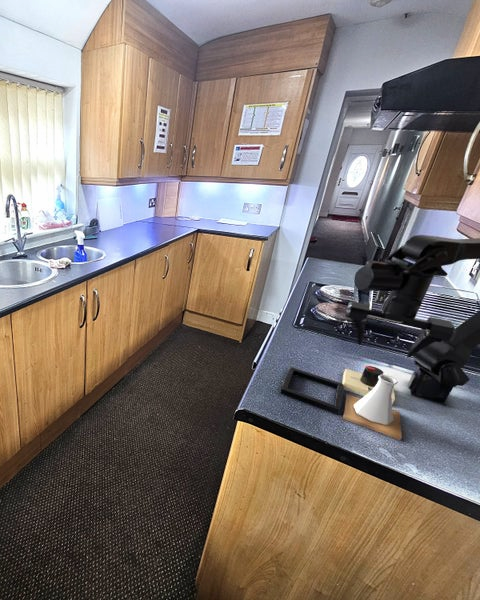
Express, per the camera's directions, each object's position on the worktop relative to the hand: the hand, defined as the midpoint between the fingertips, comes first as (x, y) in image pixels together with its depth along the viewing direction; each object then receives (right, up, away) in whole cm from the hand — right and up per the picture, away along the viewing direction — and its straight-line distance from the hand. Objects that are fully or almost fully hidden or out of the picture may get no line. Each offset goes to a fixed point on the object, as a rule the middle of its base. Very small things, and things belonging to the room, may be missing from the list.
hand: (382, 350), depth 81 cm
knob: (0, -9, +4) cm, 10 cm away
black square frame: (-15, -11, +4) cm, 19 cm away
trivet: (-7, -15, -4) cm, 17 cm away
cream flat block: (0, -11, +5) cm, 12 cm away
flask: (-7, -14, -4) cm, 16 cm away
